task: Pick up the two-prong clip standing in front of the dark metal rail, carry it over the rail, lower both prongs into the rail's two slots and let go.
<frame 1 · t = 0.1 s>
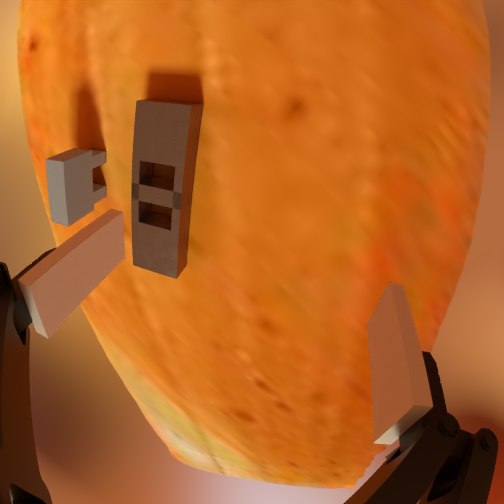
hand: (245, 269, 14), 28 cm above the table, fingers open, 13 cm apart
rail: (168, 187, 44), on the table
clip: (96, 172, 45), on the table
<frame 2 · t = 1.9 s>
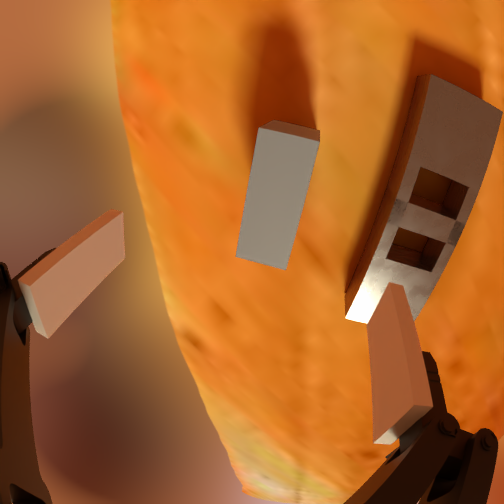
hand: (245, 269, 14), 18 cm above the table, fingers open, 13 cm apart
rail: (417, 207, 28), on the table
clip: (289, 169, 29), on the table
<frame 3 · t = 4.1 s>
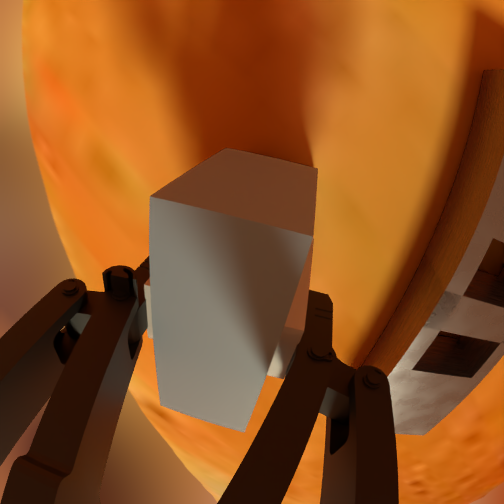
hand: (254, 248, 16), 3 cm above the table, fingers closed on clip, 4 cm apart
rail: (464, 283, 17), on the table
clip: (264, 226, 18), on the table, touching gripper
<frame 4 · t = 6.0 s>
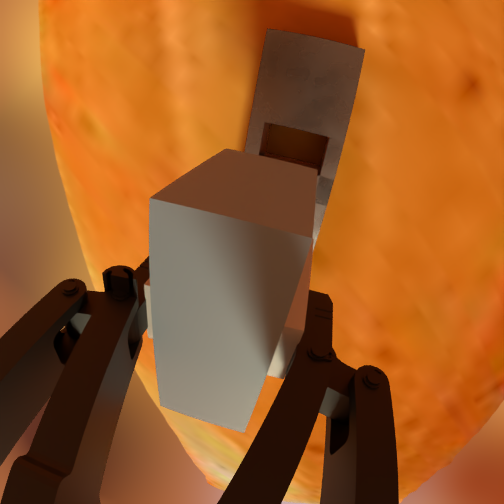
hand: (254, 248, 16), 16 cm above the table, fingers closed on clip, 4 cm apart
rail: (290, 170, 29), on the table
clip: (263, 227, 18), point 13 cm above the table, touching gripper
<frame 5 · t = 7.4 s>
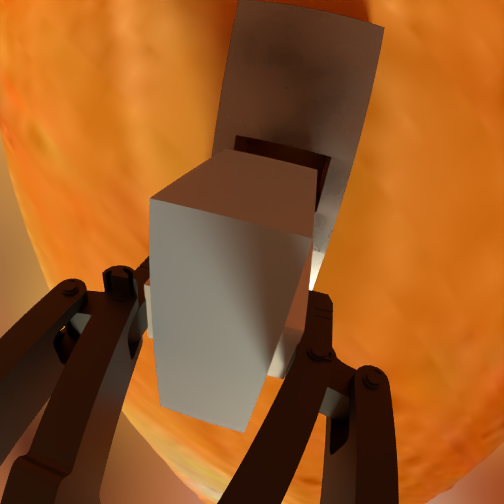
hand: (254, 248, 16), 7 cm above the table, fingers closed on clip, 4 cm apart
rail: (276, 198, 22), on the table
clip: (263, 227, 18), point 5 cm above the table, touching gripper
when the fingers open (5 cm above the table, at t = 8.1 s): clip drops 2 cm, resting on rail.
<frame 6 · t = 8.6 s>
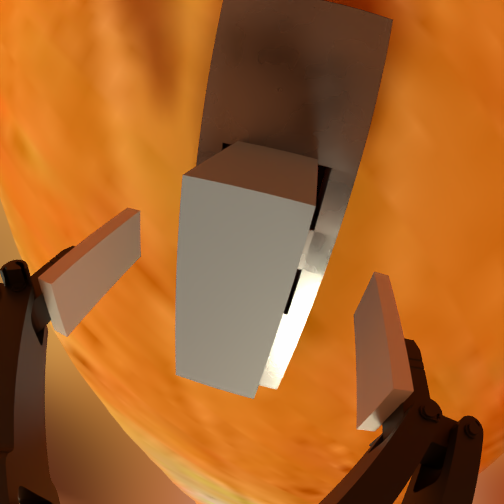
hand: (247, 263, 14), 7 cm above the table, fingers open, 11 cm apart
rail: (270, 211, 20), on the table
clip: (269, 214, 20), resting on rail
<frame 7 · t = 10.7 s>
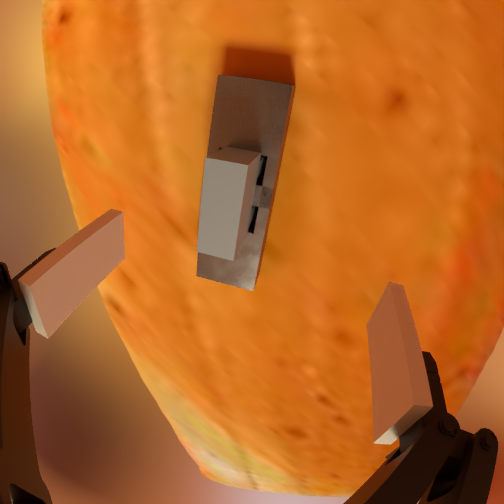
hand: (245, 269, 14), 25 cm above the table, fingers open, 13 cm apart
rail: (244, 182, 38), on the table
clip: (244, 183, 38), resting on rail
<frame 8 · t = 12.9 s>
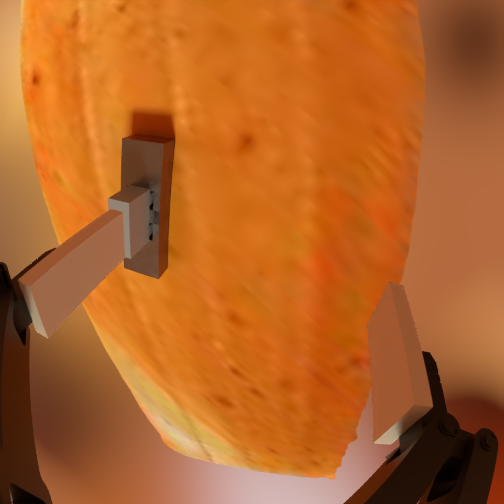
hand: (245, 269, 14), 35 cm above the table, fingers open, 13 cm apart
rail: (150, 205, 54), on the table
clip: (149, 206, 54), resting on rail
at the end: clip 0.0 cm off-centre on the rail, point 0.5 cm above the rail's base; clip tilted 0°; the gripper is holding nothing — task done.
